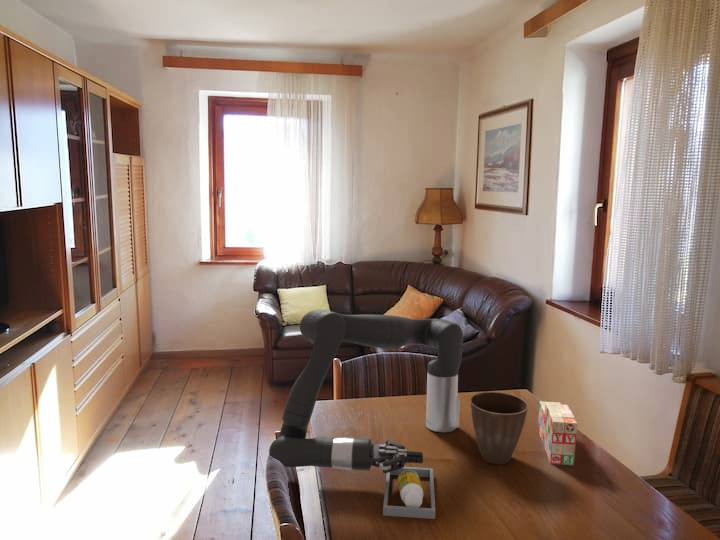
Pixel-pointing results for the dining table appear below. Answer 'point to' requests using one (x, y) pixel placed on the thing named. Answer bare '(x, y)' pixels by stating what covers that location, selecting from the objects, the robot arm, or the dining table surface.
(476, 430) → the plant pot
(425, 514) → the frame
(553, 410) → the stack of blocks
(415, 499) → the supplement bottle
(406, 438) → the dining table surface
